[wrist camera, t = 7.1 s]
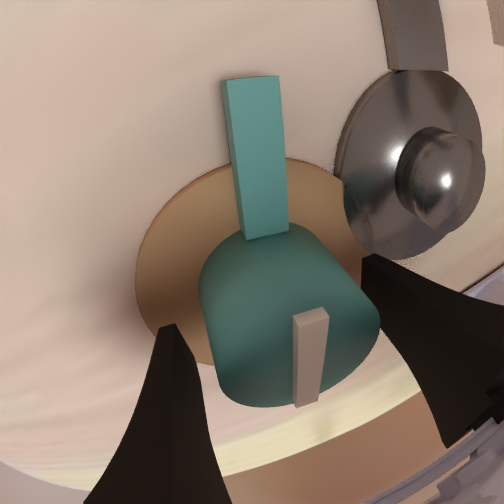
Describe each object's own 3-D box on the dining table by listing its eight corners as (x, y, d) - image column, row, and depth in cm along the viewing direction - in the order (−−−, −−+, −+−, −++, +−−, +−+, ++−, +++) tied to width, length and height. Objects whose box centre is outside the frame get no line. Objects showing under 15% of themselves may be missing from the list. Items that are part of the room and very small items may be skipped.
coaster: (362, 315, 16) (367, 322, 15) (188, 378, 15) (189, 387, 14) (363, 132, 10) (373, 135, 10) (91, 212, 9) (88, 219, 8)
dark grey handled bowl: (463, 224, 15) (529, 277, 10) (338, 278, 14) (405, 367, 9) (459, -21, 6) (553, -16, 2) (289, -58, 6) (393, -125, 1)
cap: (323, 310, 14) (369, 384, 10) (212, 341, 13) (235, 429, 9) (325, 73, 8) (429, 85, 4) (153, 93, 7) (138, 102, 4)
